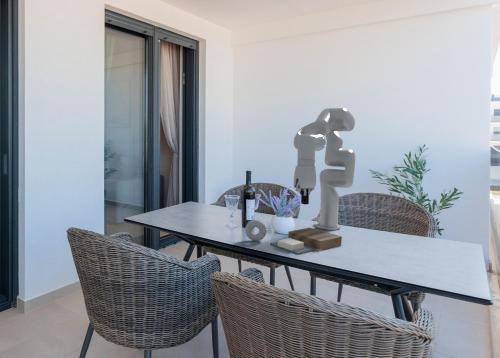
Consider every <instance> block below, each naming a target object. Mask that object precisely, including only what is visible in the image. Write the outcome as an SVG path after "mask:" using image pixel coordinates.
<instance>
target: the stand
mask: <svg viewBox="0 0 500 358" xmlns="http://www.w3.org/2000/svg"><path fill="white" fill-rule="evenodd" d="M287 232H288V235H287V236H288V237H287V238H291V239H294V240H298V241H301V242H304V245H307V246H310V247H313V248H316V249H317V250H319V251H323V250H326V249H327V250H328V249H330V248H334V247H338V246H342V242H343V239H342V238H343V237H342V235H338V234H335V233H331V232H327V231H323V230H321V229H320V230H319V229H316V228H314V227H313V228H312V227H305V228H300V229H294V230H290V231H287Z"/></svg>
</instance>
